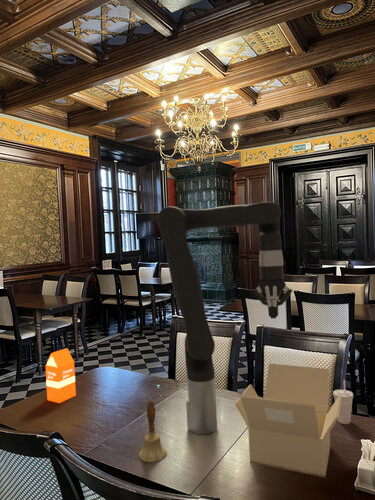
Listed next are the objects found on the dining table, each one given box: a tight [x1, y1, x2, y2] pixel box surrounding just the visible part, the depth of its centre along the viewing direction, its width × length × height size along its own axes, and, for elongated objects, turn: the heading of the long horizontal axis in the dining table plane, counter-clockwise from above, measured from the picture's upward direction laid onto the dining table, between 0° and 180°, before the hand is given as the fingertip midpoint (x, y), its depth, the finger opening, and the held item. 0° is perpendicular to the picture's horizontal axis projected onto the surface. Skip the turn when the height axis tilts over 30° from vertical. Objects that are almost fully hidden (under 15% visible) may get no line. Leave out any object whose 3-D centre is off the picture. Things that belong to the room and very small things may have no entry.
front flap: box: [239, 394, 320, 439], centre depth 99 cm, size 18×14×1 cm
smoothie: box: [332, 379, 354, 425], centre depth 128 cm, size 6×6×14 cm
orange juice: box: [45, 347, 77, 404], centre depth 161 cm, size 8×9×20 cm
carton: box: [234, 363, 342, 478], centre depth 115 cm, size 28×26×20 cm
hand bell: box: [138, 400, 168, 463], centre depth 113 cm, size 8×8×16 cm
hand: (273, 317), depth 123 cm, fingers closed
